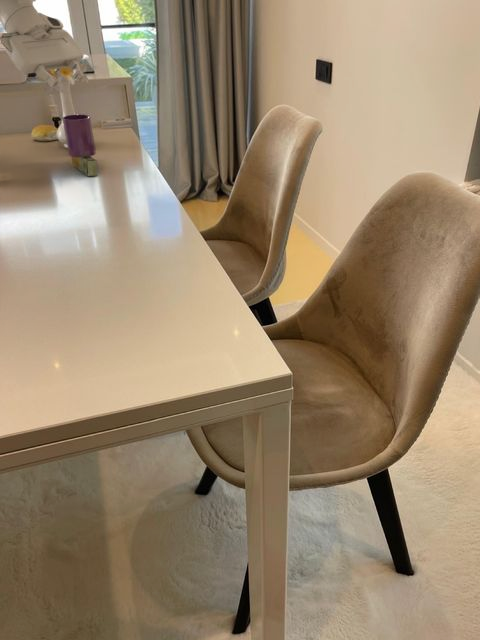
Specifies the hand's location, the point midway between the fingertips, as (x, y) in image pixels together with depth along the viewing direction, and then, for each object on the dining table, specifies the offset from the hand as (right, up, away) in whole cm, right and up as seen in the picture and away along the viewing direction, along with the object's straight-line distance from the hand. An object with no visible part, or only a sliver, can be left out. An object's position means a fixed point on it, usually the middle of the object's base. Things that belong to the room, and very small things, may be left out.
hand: (68, 81), depth 135 cm
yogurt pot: (0, -14, +10) cm, 17 cm away
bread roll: (-21, +2, +41) cm, 46 cm away
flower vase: (-9, -4, +33) cm, 34 cm away
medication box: (0, -18, +13) cm, 22 cm away
